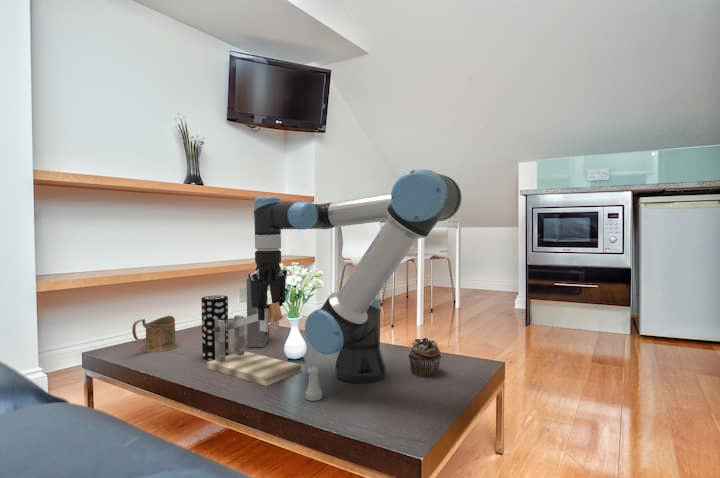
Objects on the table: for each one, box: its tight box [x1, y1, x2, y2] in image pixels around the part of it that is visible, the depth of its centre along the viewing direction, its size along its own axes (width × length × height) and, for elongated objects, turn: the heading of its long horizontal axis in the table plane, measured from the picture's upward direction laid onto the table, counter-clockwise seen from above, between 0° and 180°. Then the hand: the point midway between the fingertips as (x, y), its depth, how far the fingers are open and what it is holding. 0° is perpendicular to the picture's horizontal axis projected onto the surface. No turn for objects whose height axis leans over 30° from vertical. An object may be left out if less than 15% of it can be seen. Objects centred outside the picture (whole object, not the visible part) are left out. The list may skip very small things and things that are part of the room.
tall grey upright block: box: [246, 277, 270, 349], centre depth 159 cm, size 14×6×25 cm, turn 4°
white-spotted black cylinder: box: [201, 294, 230, 361], centre depth 142 cm, size 8×8×20 cm
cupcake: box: [408, 337, 442, 378], centre depth 126 cm, size 10×10×10 cm
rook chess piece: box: [304, 364, 323, 402], centre depth 107 cm, size 4×4×8 cm
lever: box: [225, 302, 283, 332], centre depth 129 cm, size 24×4×5 cm, turn 56°
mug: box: [131, 315, 179, 353], centre depth 150 cm, size 12×18×12 cm, turn 162°
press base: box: [206, 315, 302, 387], centre depth 128 cm, size 26×14×14 cm, turn 56°
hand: (269, 329), depth 124 cm, fingers closed on lever, 3 cm apart
